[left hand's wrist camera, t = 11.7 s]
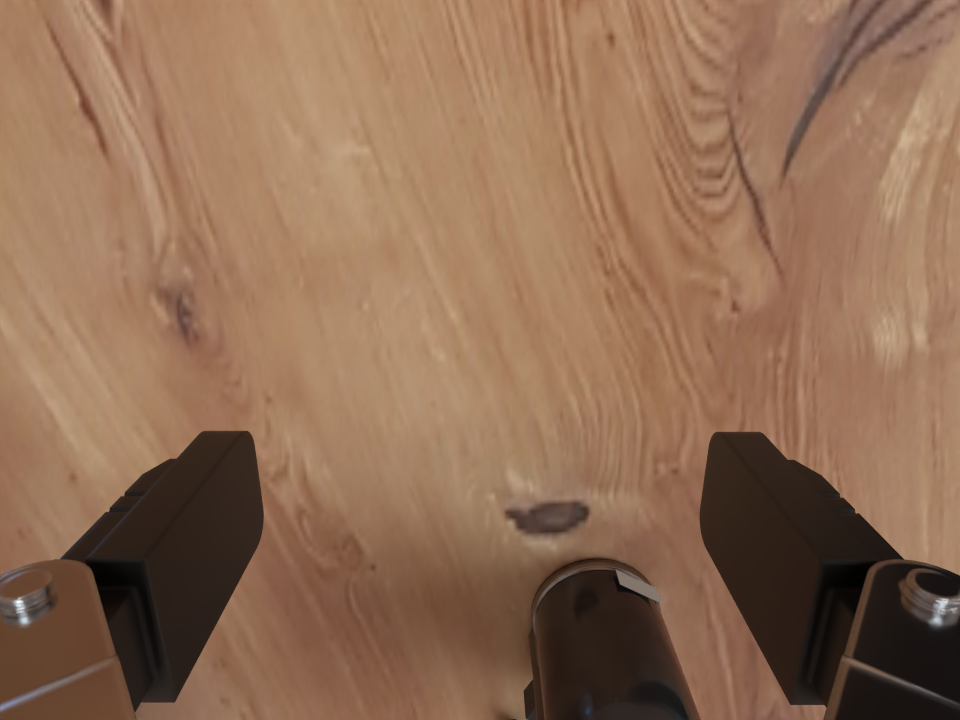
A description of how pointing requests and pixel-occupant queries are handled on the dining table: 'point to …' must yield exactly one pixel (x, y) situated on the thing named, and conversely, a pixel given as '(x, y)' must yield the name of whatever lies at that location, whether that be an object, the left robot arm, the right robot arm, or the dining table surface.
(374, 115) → the dining table surface
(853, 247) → the dining table surface
